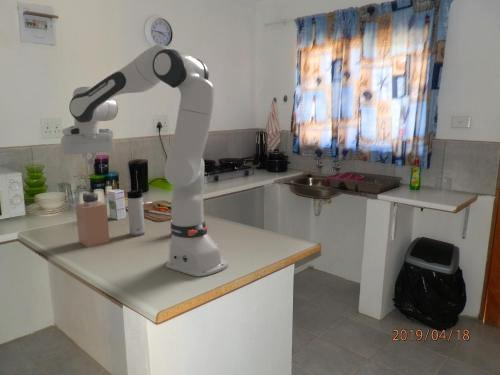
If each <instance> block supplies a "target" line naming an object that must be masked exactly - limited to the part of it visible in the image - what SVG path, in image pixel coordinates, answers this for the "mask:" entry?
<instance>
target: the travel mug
mask: <svg viewBox="0 0 500 375" xmlns="http://www.w3.org/2000/svg"><path fill="white" fill-rule="evenodd" d="M143 191H144V190H143V189H133V190H130V191H126V194H127V196H126V197H127V206H128V211H127V212H128V226H129V235H130V236H131V237H140V236H143V235H145V234H146V232H145V230H146V228H145V217H144V213H143V203H144V198H143Z"/></svg>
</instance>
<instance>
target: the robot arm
mask: <svg viewBox="0 0 500 375" xmlns="http://www.w3.org/2000/svg"><path fill="white" fill-rule="evenodd" d="M209 74H210V71H209V68H208V67H207V65H206V64H205V63H204V62H203V61H201V60H200V59H198V58H195V57H194V56H191V55H190V54H188V53H187V52H182V51H178V50H176V49H172V48H169V47H168V46H167V45H164V44H162V43H158V44H155V45H153V46H151V47H149V48H147V49H146V50H144V51H143V52H141V53H140V54H139V55H138V56H136V57H135V58H134V59H133V60H131V61H130V62H129V63H127V64H126V65H125V66H123V67H122V68H120V69H119V70H117V71H115V72H113V73H112V74H110V75H108V76H106V77H105V78H104V79H102V80H101V81H99V82H98V83H96V84H95V85H94V86H92V87H91V86H81V87H80V86H79V87H76V88H75V89H74V90H73V92H72V98H71V99H70V102H69V106H68V107H69V108H68V110H69V112H70V115H71V116H72V117H73V118H74V120H73V121H74V125H71V126H69V127H66V128H63V129H62V130H61V133H62V137H60V151H61V154H63V155H65V156H67V155H79V154H81V157H82V158H83V159H84V161H85V165H87V166H88V165H95V164H96V163H95V159H96V158H97V155H98V154H97V153H108V152H114V150H115V142H114V139H113V138H114V133H113V131H112V130H111V129H109V128H100V124H99V122H109V121H113V120H115V118H116V117H117V115H118V111H119V108H118V107H119V106H118V103H117V101H116V100H115V99H114V97H115V96H119V95H123V94H135V93H137V94H138V93H144V92H147V91H149V90H151V89H152V88H154V87H155V86H157V84H159V83H160V82H162V83H164V84H166V85H168V86H169V87H171V88H173V89H175V88H177V89H178V90H179V92H180V101H179V105H178V112H177V118H176V124H175V130H174V135H173V137H172V140H171V144H170V147H169V151H168V155H167V159H166V163H165V165H164V169H163V173H164V174H163V175H164V178H165V180H166V181H167V182H168V183H169V184H170V185H172V193H171V200H170V202H171V212H172V222H170V233H171V238H170V241H169V243H168V261H167V262H166V264H165V267H166V268H168V269H171V270H174V271H177V272H180V273H184V274H185V275H186V274H187V275H190V276H194V277H203V276H209V275H212V274H216V273H218V272H220V271H223V270H225V269H226V268H227V267H229V263H228V262H227V261H226V260H224V259H223V258H222V256H221V248H220V247H219V244H218V243H215V241H214V240H213V239H212V237H211V236H210V235H209V234H208V230H209V229H208V228H209V226H207V224H206V221H205V220H204V190H205V188H204V187H205V161H204V160H205V159H204V158H203V155H204V151H205V148H206V144H207V141H208V138H209V132H210V126H211V122H212V117H213V109H214V100H215V99H214V98H215V97H214V96H215V92H214V86H213V83H212V82H210V80H209V76H210V75H209ZM89 154H91V158H90V159H89V158H88V157H87V156H89Z"/></svg>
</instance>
